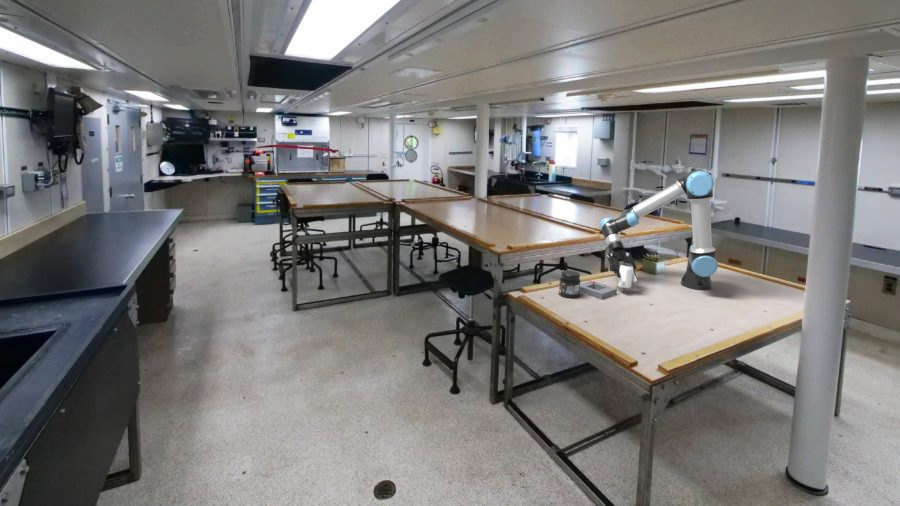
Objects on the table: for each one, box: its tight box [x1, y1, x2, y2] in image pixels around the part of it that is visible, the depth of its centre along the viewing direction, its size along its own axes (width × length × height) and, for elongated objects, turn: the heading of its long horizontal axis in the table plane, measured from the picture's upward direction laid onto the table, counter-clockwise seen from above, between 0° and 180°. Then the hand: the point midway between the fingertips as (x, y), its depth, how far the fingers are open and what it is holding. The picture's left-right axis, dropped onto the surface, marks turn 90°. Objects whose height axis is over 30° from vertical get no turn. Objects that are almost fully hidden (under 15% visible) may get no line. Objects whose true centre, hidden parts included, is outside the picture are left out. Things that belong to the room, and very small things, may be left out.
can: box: [617, 262, 633, 289], centre depth 243 cm, size 6×6×12 cm
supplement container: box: [558, 269, 581, 299], centre depth 239 cm, size 10×10×12 cm
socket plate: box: [579, 279, 618, 300], centre depth 245 cm, size 16×13×4 cm
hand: (629, 282), depth 240 cm, fingers closed on can, 6 cm apart
